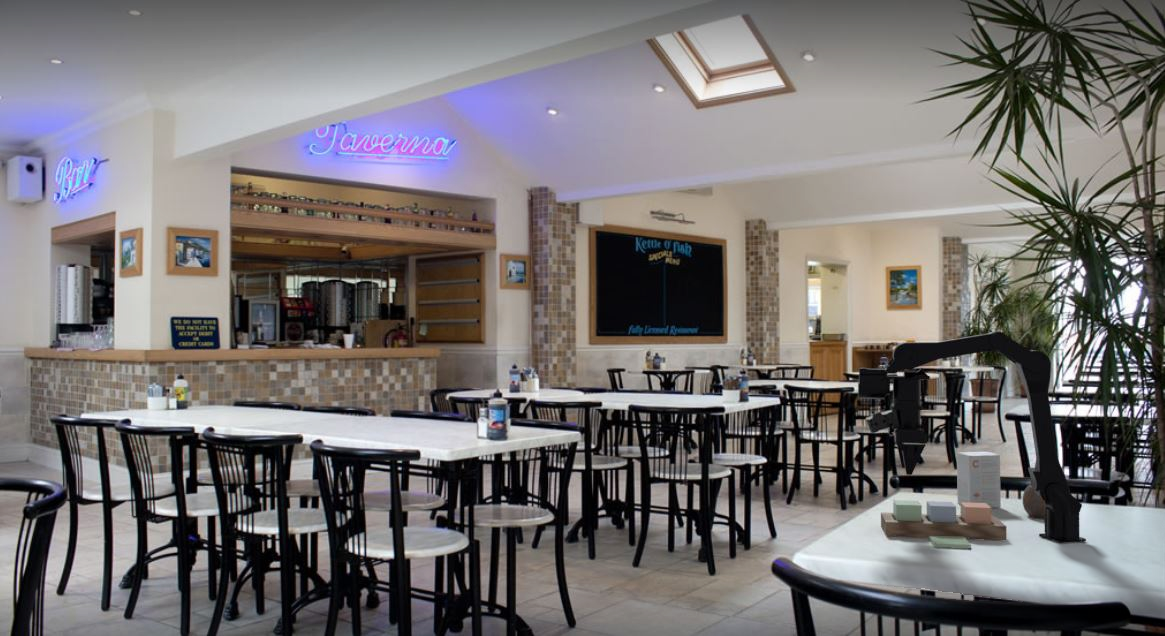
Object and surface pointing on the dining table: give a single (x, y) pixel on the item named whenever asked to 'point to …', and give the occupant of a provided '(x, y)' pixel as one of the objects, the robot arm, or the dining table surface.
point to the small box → (978, 478)
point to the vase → (1033, 503)
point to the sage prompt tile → (949, 541)
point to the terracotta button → (975, 513)
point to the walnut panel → (943, 528)
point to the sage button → (907, 510)
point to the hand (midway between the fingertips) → (906, 471)
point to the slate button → (941, 511)
